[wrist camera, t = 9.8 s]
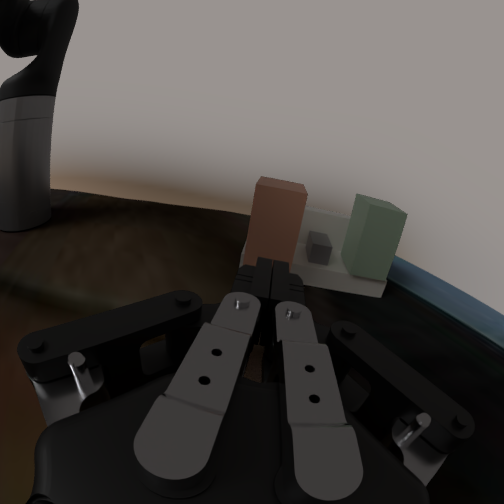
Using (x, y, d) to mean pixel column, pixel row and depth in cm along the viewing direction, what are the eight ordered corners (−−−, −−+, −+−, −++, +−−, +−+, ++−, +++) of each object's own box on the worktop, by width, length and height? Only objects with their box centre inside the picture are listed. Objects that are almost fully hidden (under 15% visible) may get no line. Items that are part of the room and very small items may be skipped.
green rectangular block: (349, 274, 26) (370, 203, 23) (340, 253, 30) (356, 193, 27) (385, 280, 25) (407, 214, 23) (372, 260, 30) (389, 202, 27)
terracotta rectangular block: (242, 266, 24) (255, 183, 21) (249, 245, 28) (261, 176, 25) (289, 275, 23) (307, 194, 21) (288, 252, 28) (303, 184, 25)
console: (238, 272, 27) (247, 212, 25) (248, 243, 35) (256, 196, 32) (380, 297, 27) (400, 245, 24) (363, 265, 34) (376, 221, 32)
